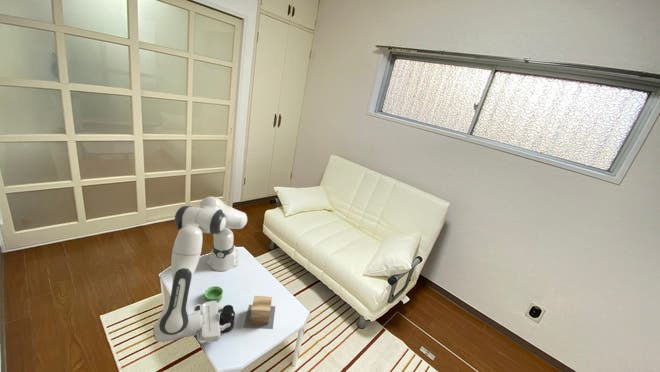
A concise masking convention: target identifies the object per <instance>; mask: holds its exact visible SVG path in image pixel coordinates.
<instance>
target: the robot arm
mask: <svg viewBox="0 0 660 372" xmlns="http://www.w3.org/2000/svg"><path fill="white" fill-rule="evenodd" d="M174 223H175V226H176V227H177V230H178V232H177V235H176V238H175V240H174V244H173V247H172V250H171V251H172V252H171V278H172V279H171V281H172V285H171V293H170V297H169V298H168V299H166V301H165V302H164V305H163V308H162V310H161V313H160V316H159V318H158V319H157V321H156V322H155V323H154V324H153V331H152V332H153V333H152V334H153V338H154V340H155V342H159V343H165V342H172V341H175V340H176V341H177V340H179V339H181V338H185V337H188V338H189V337H194V336H196V341H197V343H199V344H205V343H206V344H207V343H214V342H218V341H219V340H220V339H221V331H223V330H224V329H225V328H227V327H230V322H226V324H225V325H223V326H222V325H219V319H220V313H221V312H222V309H223V307H221V306H220V307H218V303H217V301H210V302H206V301H205V302H203V303H202V304H201V303H196V304H195V306H194V308H193V311H192V313H191V314H189V301H188V299H189V298H188V297H189V293H190V286H191V283H192V280H193V277H194V275H195V273H196V269H197V268H198V265H199V262H200V261H199V260H200V259H201V254H202V248H203V234H211V235H213V244H212V250H211V251H210V252H209V258H208V259H207V261H206V264H207V265H209V266H210V269H212V270H214V271H218V272H226V271H228V270H230V269H232V268H235V267H237V266H239V250H238V249H236V245H234V242H235V239H234V233H233V231H232V230H231V229H234V230H235V229H237V230H239V229H240V230H241V229H243V228H245V226H246V225H247V223H248V216H247V213H245V212H243V211H241V210H239V209H236V208H234V207H231V206H230V205H228V204H226V203H225V202H224V201H223V200H221V199H220V198H218V197H215V196H213V195H211V196H206V197H204V198H203V199H202V200H201V201H200V203H199V207H198V206H192V205H183V206H181V207H179V208H178V210H177V211H176V213H175V214H174Z"/></svg>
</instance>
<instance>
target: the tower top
mask: <svg viewBox="0 0 660 372" xmlns="http://www.w3.org/2000/svg"><path fill="white" fill-rule="evenodd" d="M272 301H273V296H267V295H266V296H264V295H254V296H253V301H252V304H251V305H252V309H251V317H265V318H269V315H270V308H271V306H272Z"/></svg>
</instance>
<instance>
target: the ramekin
mask: <svg viewBox="0 0 660 372" xmlns="http://www.w3.org/2000/svg"><path fill="white" fill-rule="evenodd" d="M223 294H224V289H223V288H222V287H221V286H218V285H217V286H216V285H215V286H214V285H213V286H210V287H208V288H207V289H206V290H204V297H205V302H210V301H217V304H218V303H220V301H221V300H222V298H223Z"/></svg>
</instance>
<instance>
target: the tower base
mask: <svg viewBox="0 0 660 372" xmlns="http://www.w3.org/2000/svg"><path fill="white" fill-rule="evenodd" d="M268 322H269V318H265V317H251V318H250V323H253V324H268Z"/></svg>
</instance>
